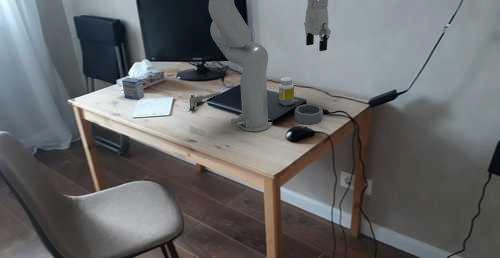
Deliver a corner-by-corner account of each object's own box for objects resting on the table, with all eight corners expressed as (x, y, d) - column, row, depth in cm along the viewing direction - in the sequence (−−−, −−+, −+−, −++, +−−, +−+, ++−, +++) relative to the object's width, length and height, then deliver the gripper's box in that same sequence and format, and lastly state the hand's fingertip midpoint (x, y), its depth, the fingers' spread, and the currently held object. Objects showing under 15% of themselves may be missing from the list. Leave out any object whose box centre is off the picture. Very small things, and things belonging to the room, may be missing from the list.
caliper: (192, 110, 177) (190, 96, 174) (190, 109, 177) (188, 96, 174) (222, 94, 191) (221, 80, 188) (220, 93, 192) (219, 80, 189)
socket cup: (304, 126, 157) (304, 117, 155) (290, 116, 165) (290, 107, 164) (327, 120, 161) (327, 111, 159) (312, 110, 169) (312, 102, 167)
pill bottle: (296, 101, 178) (296, 77, 173) (291, 107, 173) (291, 82, 168) (282, 100, 181) (282, 75, 176) (277, 105, 176) (276, 80, 171)
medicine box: (124, 98, 192) (121, 80, 188) (130, 94, 195) (127, 77, 192) (139, 100, 189) (135, 82, 185) (144, 96, 193) (141, 78, 189)
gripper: (297, 1, 165) (297, 44, 172) (321, 7, 150) (320, 54, 158) (314, -1, 167) (312, 41, 175) (339, 5, 153) (336, 51, 160)
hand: (316, 47), depth 166 cm, fingers open, 9 cm apart
